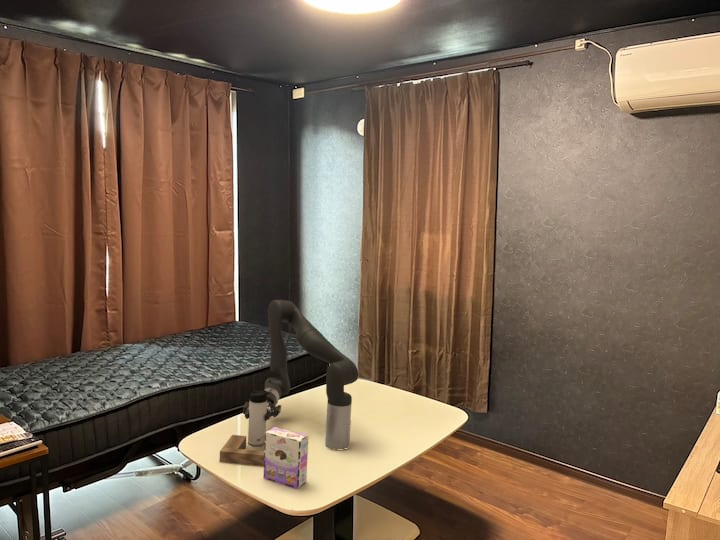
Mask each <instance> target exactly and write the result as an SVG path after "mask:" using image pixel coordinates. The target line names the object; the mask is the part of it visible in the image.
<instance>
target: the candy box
mask: <svg viewBox="0 0 720 540" xmlns="http://www.w3.org/2000/svg"><path fill="white" fill-rule="evenodd" d="M308 450H309V434H305V433H304V434H303V433H299V432H296V431H293V430H288V429H284V428H281V427H277V426H274V427H272V428H270V429H268V430H266V432H265V445H264V466H263V479H264V480H267V481H271V482H273V483H274V482H275V483H278V484H281V485H285V486H287V487H289V488H290V487H292V488H294V489H297V490H298V489H299V488H301V487H302V486H304V485H305V484H306V482H307V473H308V455H309V451H308Z"/></svg>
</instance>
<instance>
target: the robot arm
mask: <svg viewBox="0 0 720 540" xmlns="http://www.w3.org/2000/svg"><path fill="white" fill-rule="evenodd" d="M267 320H268V330H269V339H270V340H269V341H270V357H269V360H270V361H269V362H270V363H269V369H270V371H271V372H274V373H278V374H279V375H280V377H269V378H266V380H265V383H264V390H266V391H267V392H268V395H267V413H266V414H265V421H266V422H267V421H269V420H270V419H271V418H272V417H273V418H277V417H278V416H279V415H280V413H281V411H282V405H280V404H278V402H279V400H280V399H281V396H285V395H288V394H289V393H290V391H291V382H290V377H289V375H288V367H287V366H288V348H287V345H286V343H285V341H284V338H283V334H282V323H287V324H288V325H289V326H291V327H292V328H293V329H294V331H295V334H296V340H297V342H298V344H299V345H300V346H301V347H302V348H303V349H304V350H305V352H307V353H308V354H309V355H310V356H312V357H314V358H317V359H319V360H320V361H323V362H326V363H328V367H327V369H326V372H325V373H326V377H325V378H326V379H325V380H326V381H325V382H326V383H325V384H326V386H325V391H326V392H325V393H326V397H327V398H326V399H327V404H326V405H327V406H326V422H325V423H326V424H325V436H324V437H325V439H324V445H325V446H324V447H326V448H327V447H328V448H327V449H329V448H330V450H332V449H335V450H334V451H339V450H338V449H344V448H348V447H349V446H350V443H351V442H350V438H351V428H352V427H351V426H352V420H351V415H352V401H353V398H352V397H353V396H352V395H351V394H350V393H348V392H345V386H346V385H351V384H353V383H355V382H356V381H358V379H359V376H360V375H359V369H358V367H357V365H356V364H355V363H354V362H353V360H351V359H350V358H349V357H348V356H346V355H345V354H344V353H343V352H341V351H340V350H339V349H338V348H337V347H335V345H334V344H332V343H331V342H330V341H329V340H328V338H326V336H324V334H322V333H321V331H319V330H318V329H317V328H316V327H315V326H314V325H313V324H312V323H311V321H309V319H307V318H306V317H305V316H304V315H303V313H302V312H301V310H300V308H298V307H297V305H296V304H295V303H294V302H292V301H290V300H284V299H274V300H272V301H270V303H269V305H268V308H267ZM249 402H250V401H245V402H244V405H243V407H242V414H243V415H244V418H245V420H249ZM349 442H350V443H349ZM348 449H349V448H348ZM344 450H345V449H344Z"/></svg>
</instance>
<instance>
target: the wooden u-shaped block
mask: <svg viewBox="0 0 720 540" xmlns="http://www.w3.org/2000/svg"><path fill="white" fill-rule="evenodd" d="M246 447H247V435H239V434H238V435H237V434H232V435H230V437H229V438H228V440H227V441H226V442H225V444H224V445H223V446H222V447H221V449H220V450H219V460H218V461H219V463H224V462H225V463H227V464H235V465H236V464H237V465H246V466H255V467H256V466H258V467H264V451H263V450H255V449H254V450H253V449H246Z"/></svg>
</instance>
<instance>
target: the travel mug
mask: <svg viewBox="0 0 720 540" xmlns="http://www.w3.org/2000/svg"><path fill="white" fill-rule="evenodd" d="M267 395H268V392H267V391H266V390H265V389H258V390H253V391H252V392H251V393H249V401H248V402H249V418H248V430H247V432H248V433H247V444H248V446H250V447H251V448H261V447H264V446H265V432H267V421H265V414H266V413H267Z"/></svg>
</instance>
